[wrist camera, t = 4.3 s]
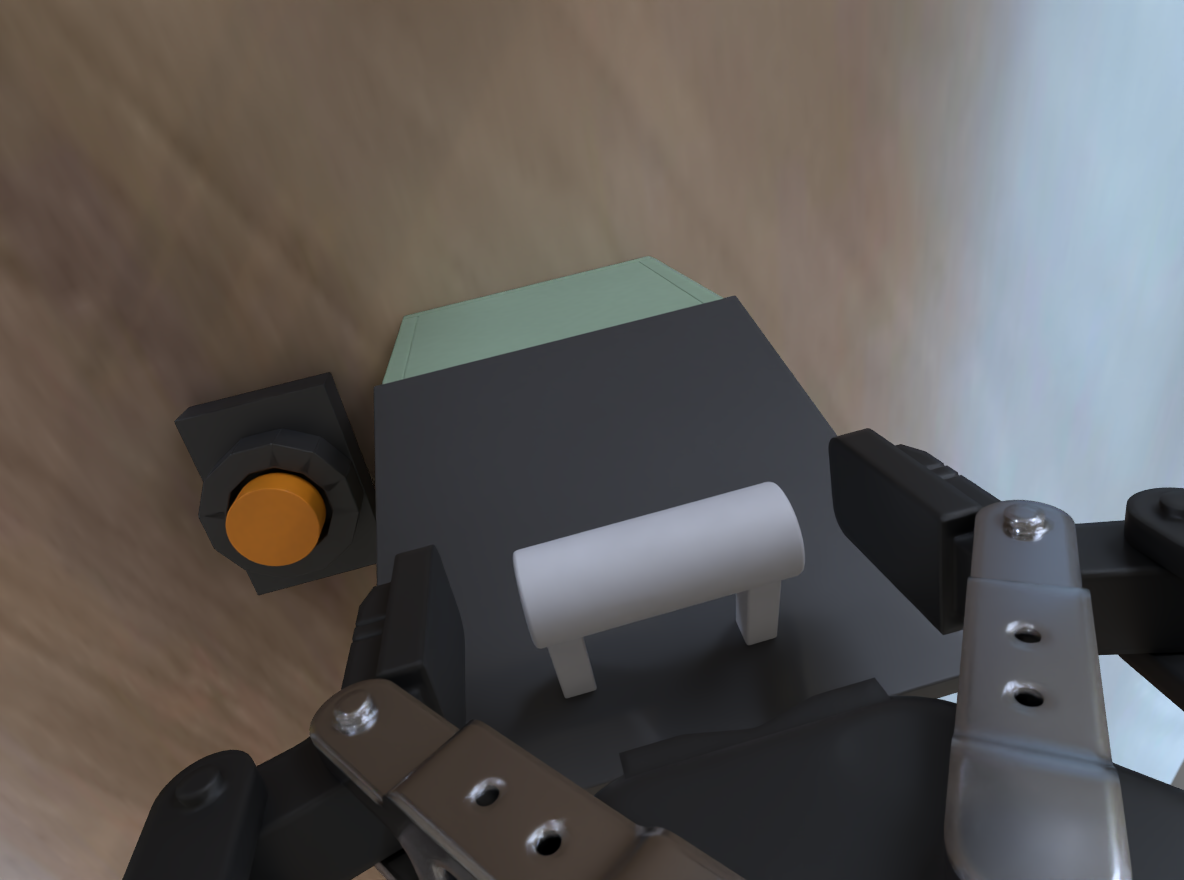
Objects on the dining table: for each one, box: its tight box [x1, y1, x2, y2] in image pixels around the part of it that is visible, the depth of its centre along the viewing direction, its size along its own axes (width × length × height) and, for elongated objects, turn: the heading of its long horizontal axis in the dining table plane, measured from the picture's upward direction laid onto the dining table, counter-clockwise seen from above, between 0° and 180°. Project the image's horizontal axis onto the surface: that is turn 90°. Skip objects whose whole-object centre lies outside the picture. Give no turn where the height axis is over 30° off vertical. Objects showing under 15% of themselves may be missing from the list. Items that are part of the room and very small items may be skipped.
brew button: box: [226, 472, 326, 566], centre depth 33 cm, size 4×4×2 cm
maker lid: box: [374, 296, 963, 796], centre depth 18 cm, size 14×13×5 cm
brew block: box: [174, 372, 377, 595], centre depth 36 cm, size 10×7×4 cm
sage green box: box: [382, 256, 723, 384], centre depth 33 cm, size 14×13×12 cm
